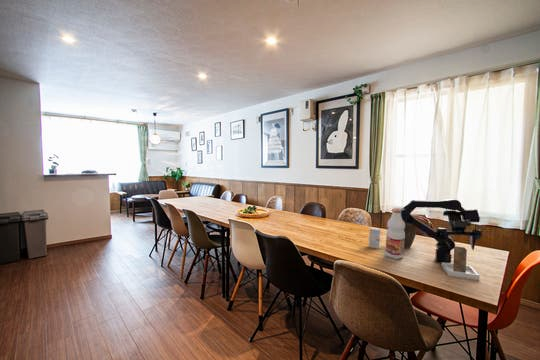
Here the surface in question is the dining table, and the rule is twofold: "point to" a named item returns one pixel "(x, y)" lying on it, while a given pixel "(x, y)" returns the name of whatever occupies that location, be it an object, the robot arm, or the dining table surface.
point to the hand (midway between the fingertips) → (461, 248)
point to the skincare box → (374, 238)
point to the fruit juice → (395, 235)
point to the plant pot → (409, 234)
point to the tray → (468, 275)
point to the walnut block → (459, 259)
